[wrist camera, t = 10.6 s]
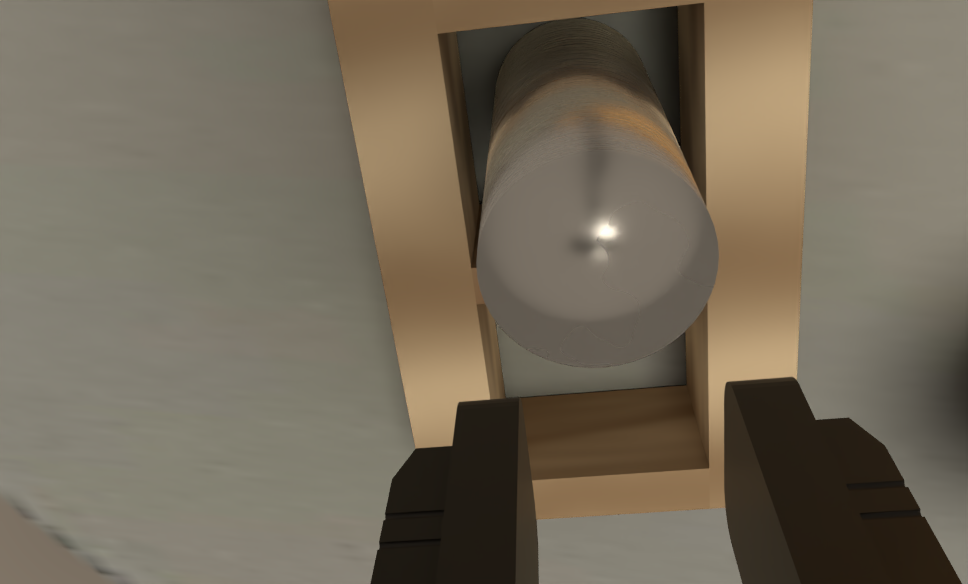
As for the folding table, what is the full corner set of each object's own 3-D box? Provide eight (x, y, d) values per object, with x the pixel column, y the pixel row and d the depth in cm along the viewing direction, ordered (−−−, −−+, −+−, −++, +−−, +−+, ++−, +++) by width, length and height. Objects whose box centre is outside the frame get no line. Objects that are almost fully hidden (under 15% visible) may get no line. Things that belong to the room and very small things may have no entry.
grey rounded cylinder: (486, 27, 23) (461, 165, 14) (644, 9, 23) (718, 138, 14) (504, 174, 25) (491, 376, 16) (650, 159, 25) (719, 358, 16)
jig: (355, -49, 22) (323, -22, 19) (769, -102, 21) (816, -84, 18) (443, 439, 29) (430, 526, 26) (758, 417, 28) (791, 503, 25)
